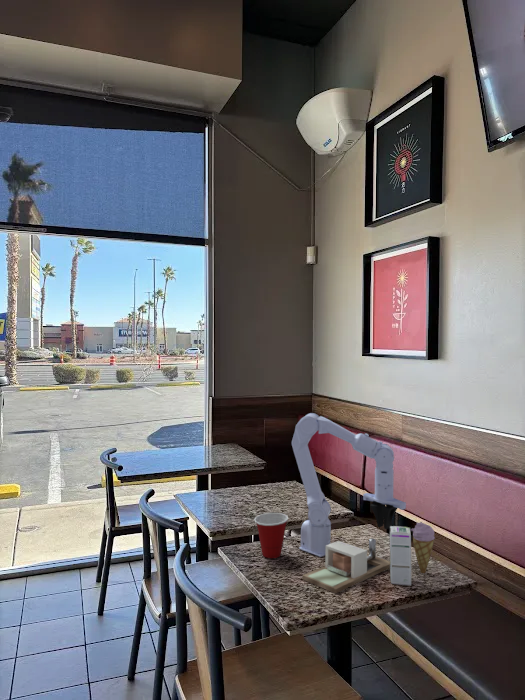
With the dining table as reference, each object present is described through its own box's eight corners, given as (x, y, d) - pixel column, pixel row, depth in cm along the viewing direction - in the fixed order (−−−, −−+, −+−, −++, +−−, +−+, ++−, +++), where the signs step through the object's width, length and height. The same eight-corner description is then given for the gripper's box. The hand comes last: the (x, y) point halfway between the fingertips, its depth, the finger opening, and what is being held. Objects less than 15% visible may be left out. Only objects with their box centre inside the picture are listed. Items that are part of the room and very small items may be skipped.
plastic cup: (248, 551, 172) (248, 514, 172) (279, 546, 177) (279, 510, 177) (261, 563, 162) (262, 524, 162) (293, 558, 167) (294, 520, 167)
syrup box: (411, 585, 148) (412, 533, 148) (389, 583, 149) (390, 531, 149) (410, 577, 154) (410, 526, 154) (389, 575, 155) (389, 525, 155)
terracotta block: (332, 567, 154) (332, 553, 154) (341, 564, 157) (341, 550, 157) (343, 572, 151) (343, 557, 151) (352, 568, 154) (352, 554, 154)
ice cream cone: (406, 571, 157) (406, 520, 157) (416, 565, 162) (416, 516, 162) (427, 578, 153) (428, 525, 153) (437, 572, 157) (437, 520, 157)
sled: (327, 569, 155) (327, 550, 155) (365, 553, 167) (365, 535, 167) (345, 576, 150) (346, 557, 150) (383, 559, 162) (383, 541, 162)
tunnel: (325, 567, 157) (325, 545, 157) (338, 562, 161) (338, 540, 161) (354, 578, 149) (354, 555, 149) (366, 572, 154) (367, 550, 154)
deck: (302, 579, 151) (302, 574, 151) (360, 555, 170) (360, 551, 170) (335, 593, 143) (335, 588, 143) (392, 566, 161) (392, 562, 161)
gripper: (411, 486, 166) (411, 530, 166) (372, 477, 176) (372, 519, 176) (398, 490, 161) (398, 535, 161) (359, 481, 172) (359, 523, 172)
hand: (383, 527), depth 168 cm, fingers closed
